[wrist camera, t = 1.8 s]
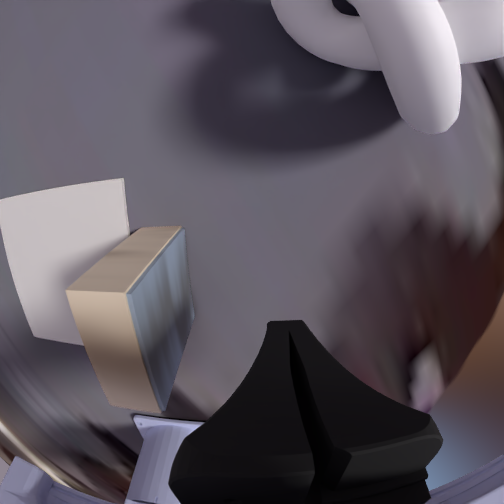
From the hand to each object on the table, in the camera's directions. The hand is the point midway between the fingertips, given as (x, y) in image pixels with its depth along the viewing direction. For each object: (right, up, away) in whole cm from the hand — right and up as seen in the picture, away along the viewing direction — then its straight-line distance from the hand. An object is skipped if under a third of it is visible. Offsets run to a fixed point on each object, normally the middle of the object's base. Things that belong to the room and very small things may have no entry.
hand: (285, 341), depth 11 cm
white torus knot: (+6, +17, +1) cm, 18 cm away
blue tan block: (-6, +2, +6) cm, 9 cm away
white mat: (-14, +2, +6) cm, 16 cm away
